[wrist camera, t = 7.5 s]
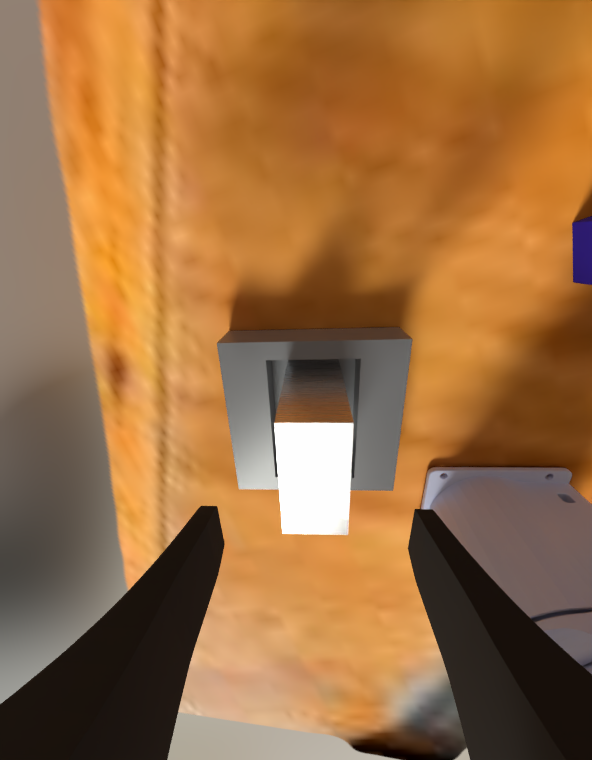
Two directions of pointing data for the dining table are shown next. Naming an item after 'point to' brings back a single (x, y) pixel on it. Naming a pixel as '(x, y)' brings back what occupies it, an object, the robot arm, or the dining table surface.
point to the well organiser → (362, 382)
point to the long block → (314, 448)
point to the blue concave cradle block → (582, 251)
